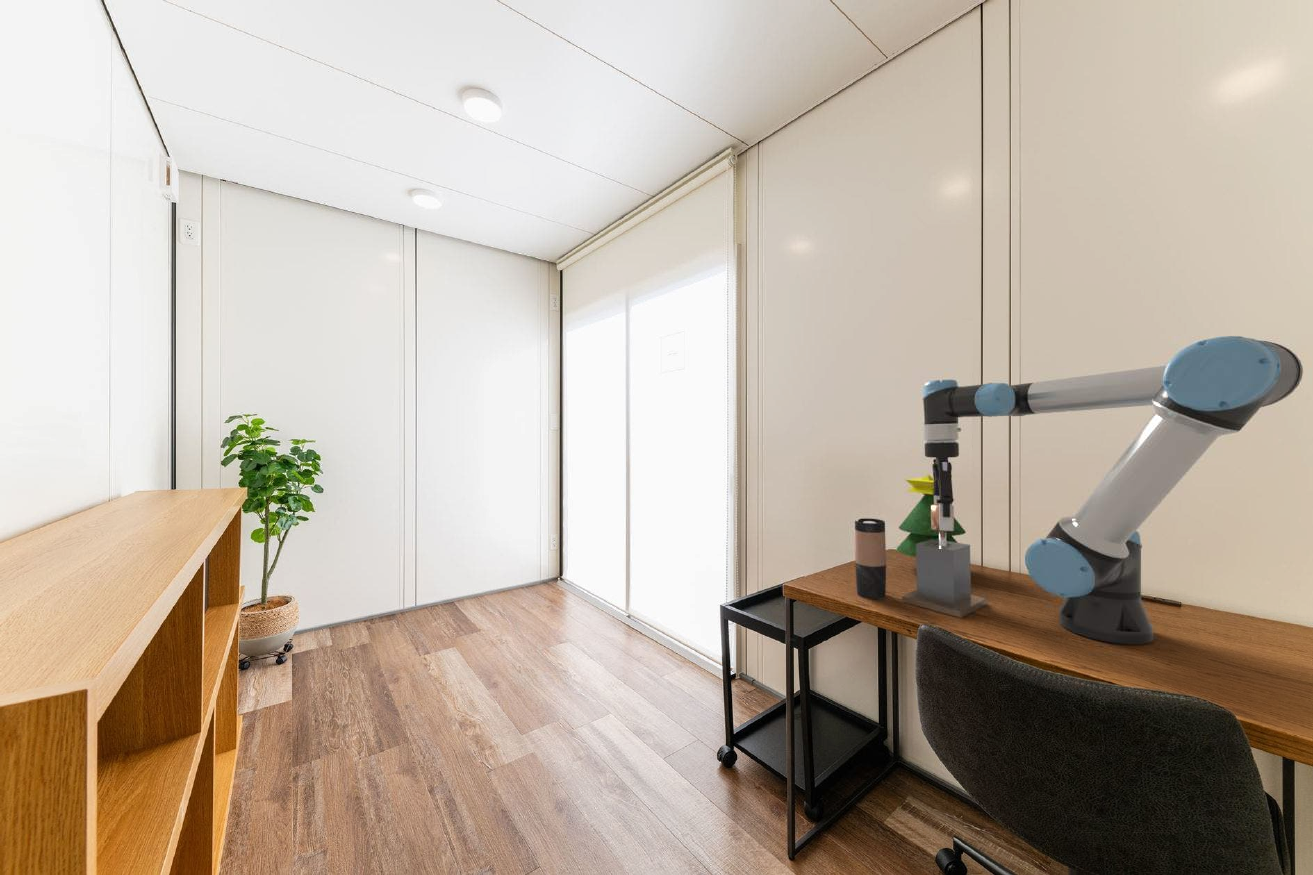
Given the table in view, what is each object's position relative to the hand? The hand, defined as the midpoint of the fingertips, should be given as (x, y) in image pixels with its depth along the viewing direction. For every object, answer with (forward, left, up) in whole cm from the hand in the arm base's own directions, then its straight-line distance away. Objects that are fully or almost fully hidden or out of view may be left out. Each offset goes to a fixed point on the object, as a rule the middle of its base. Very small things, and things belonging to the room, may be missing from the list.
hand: (943, 525), depth 125 cm
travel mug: (+15, +8, -20) cm, 26 cm away
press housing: (0, 0, -20) cm, 20 cm away
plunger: (0, 0, -16) cm, 16 cm away
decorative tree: (+15, -25, -20) cm, 36 cm away
